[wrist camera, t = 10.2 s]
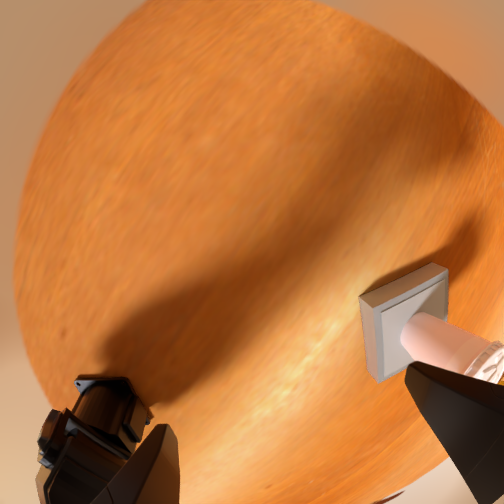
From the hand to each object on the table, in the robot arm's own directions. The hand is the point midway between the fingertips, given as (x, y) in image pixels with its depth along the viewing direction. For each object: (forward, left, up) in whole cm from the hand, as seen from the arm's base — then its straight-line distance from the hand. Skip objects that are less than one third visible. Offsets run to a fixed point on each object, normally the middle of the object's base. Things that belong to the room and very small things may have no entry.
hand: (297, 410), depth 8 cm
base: (+14, -7, -13) cm, 20 cm away
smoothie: (+14, -7, -11) cm, 19 cm away
